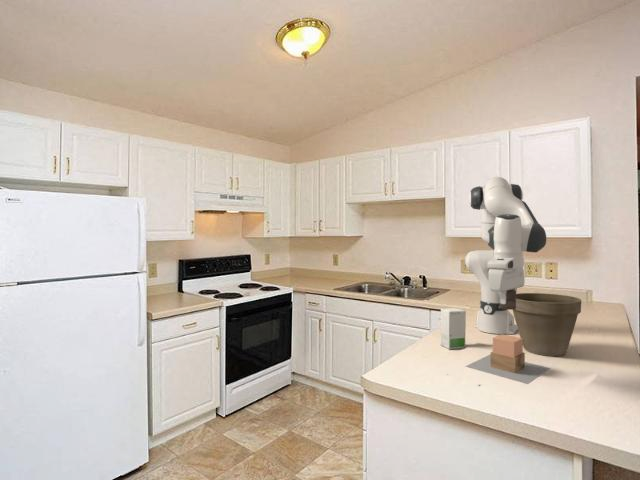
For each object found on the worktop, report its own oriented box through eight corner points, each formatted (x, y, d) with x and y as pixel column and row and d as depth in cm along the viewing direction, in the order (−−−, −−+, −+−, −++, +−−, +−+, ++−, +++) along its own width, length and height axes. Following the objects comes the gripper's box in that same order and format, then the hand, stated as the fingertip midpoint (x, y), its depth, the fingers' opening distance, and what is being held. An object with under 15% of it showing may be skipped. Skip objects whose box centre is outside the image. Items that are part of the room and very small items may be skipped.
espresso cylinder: (503, 306, 130) (503, 288, 130) (518, 308, 126) (518, 290, 126) (497, 307, 127) (497, 290, 127) (512, 310, 123) (512, 292, 123)
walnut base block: (500, 361, 133) (500, 347, 132) (524, 367, 126) (524, 352, 126) (490, 366, 127) (490, 352, 127) (515, 373, 121) (515, 358, 121)
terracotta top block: (501, 348, 132) (501, 334, 132) (522, 352, 126) (522, 338, 126) (492, 352, 127) (492, 337, 127) (514, 357, 122) (514, 342, 122)
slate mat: (491, 357, 141) (491, 353, 141) (550, 372, 126) (550, 368, 126) (465, 370, 128) (465, 366, 128) (527, 388, 113) (527, 384, 113)
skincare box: (448, 349, 151) (448, 311, 151) (439, 345, 157) (439, 308, 157) (466, 348, 153) (466, 310, 153) (456, 343, 159) (456, 307, 159)
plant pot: (495, 345, 157) (495, 294, 156) (537, 339, 165) (537, 290, 165) (550, 364, 133) (550, 304, 133) (596, 356, 142) (596, 299, 141)
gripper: (510, 259, 135) (510, 297, 136) (484, 263, 122) (484, 305, 122) (529, 260, 131) (529, 299, 131) (504, 264, 117) (504, 307, 118)
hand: (507, 302), depth 126 cm, fingers closed on espresso cylinder, 5 cm apart
